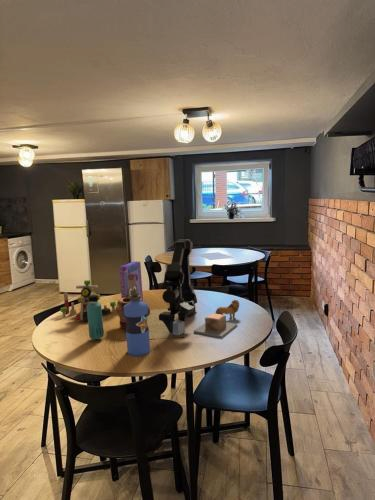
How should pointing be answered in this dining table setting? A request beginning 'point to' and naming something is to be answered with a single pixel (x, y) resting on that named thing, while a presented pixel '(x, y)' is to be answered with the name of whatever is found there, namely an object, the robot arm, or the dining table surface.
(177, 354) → the dining table surface
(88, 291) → the toy construction set
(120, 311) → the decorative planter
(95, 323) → the teal caped figurine
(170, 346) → the dining table surface
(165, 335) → the dining table surface
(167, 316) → the robot arm
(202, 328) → the tower base
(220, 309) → the lion figurine
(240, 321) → the dining table surface
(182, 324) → the slate-gray cube
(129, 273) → the cereal box
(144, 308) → the water bottle
